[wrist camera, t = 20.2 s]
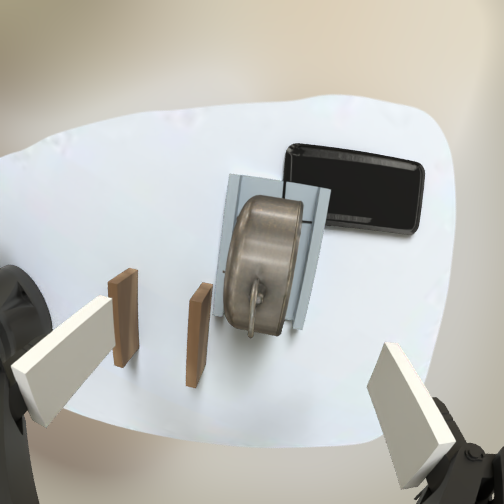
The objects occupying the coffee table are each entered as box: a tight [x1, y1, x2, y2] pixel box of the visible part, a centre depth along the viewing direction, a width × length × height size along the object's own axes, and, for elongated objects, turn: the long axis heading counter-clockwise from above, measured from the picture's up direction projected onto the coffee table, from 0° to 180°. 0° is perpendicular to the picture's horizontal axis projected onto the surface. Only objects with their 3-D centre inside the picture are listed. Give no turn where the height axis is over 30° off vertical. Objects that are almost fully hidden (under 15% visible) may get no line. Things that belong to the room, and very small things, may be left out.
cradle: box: [213, 174, 331, 330], centre depth 30 cm, size 10×14×2 cm, turn 171°
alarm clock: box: [223, 195, 304, 338], centre depth 23 cm, size 11×5×16 cm, turn 171°
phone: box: [282, 143, 425, 235], centre depth 29 cm, size 8×1×15 cm
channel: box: [108, 268, 213, 388], centre depth 32 cm, size 10×11×5 cm
